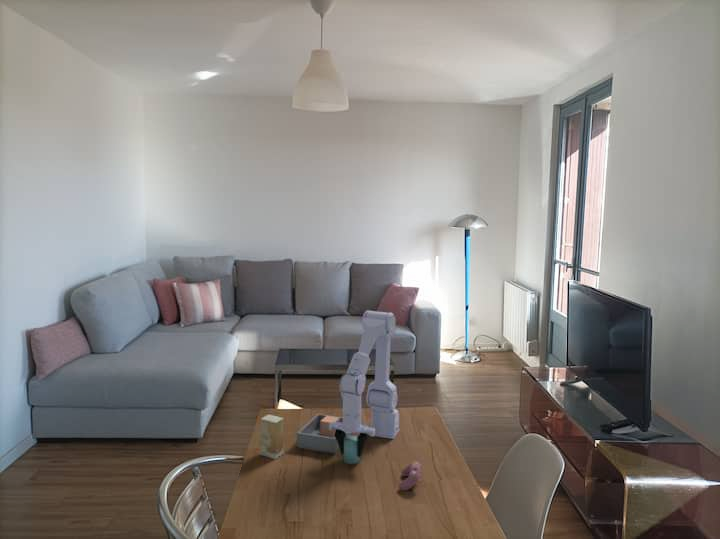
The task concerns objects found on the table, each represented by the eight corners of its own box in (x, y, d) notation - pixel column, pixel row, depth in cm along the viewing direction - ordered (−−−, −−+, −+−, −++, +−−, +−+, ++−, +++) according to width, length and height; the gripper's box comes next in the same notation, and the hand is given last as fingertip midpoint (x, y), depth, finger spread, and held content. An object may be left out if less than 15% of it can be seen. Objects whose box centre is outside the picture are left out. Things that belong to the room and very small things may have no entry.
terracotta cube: (339, 431, 192) (339, 417, 192) (333, 437, 187) (333, 423, 187) (326, 429, 194) (326, 415, 193) (320, 435, 189) (320, 421, 189)
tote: (353, 432, 193) (353, 418, 193) (335, 454, 177) (335, 439, 176) (317, 427, 198) (317, 413, 197) (296, 447, 181) (296, 433, 181)
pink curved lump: (411, 497, 155) (423, 477, 153) (397, 489, 155) (408, 469, 154) (414, 480, 164) (425, 461, 163) (400, 472, 165) (411, 453, 163)
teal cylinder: (359, 456, 176) (359, 435, 175) (360, 463, 171) (360, 442, 170) (343, 456, 175) (343, 435, 174) (343, 464, 170) (343, 442, 169)
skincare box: (259, 455, 176) (259, 418, 174) (268, 449, 179) (267, 413, 178) (276, 459, 173) (276, 422, 171) (284, 454, 176) (284, 417, 175)
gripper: (325, 414, 169) (325, 456, 171) (370, 420, 165) (369, 463, 167) (333, 406, 176) (333, 446, 178) (377, 412, 172) (376, 453, 173)
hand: (351, 454), depth 173 cm, fingers closed on teal cylinder, 5 cm apart
